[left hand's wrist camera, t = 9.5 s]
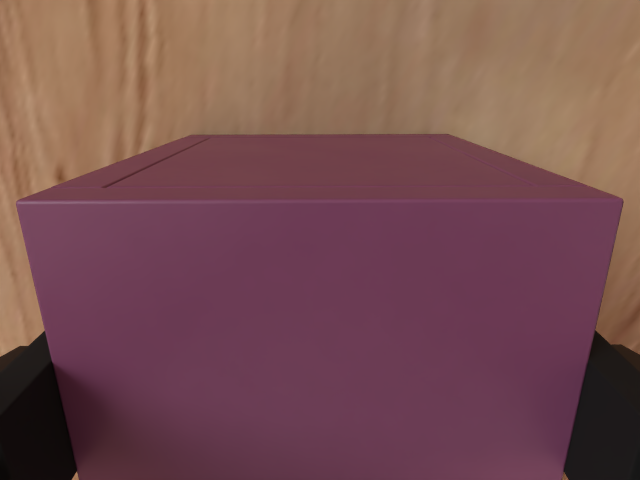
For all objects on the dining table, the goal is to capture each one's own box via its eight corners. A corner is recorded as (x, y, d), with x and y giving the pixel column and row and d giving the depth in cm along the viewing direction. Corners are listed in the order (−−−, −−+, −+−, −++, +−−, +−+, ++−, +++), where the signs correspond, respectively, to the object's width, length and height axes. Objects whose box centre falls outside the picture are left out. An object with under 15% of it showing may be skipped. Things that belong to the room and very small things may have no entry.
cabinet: (420, 462, 23) (501, 760, 13) (220, 462, 23) (142, 761, 13) (449, 133, 18) (626, 198, 8) (189, 135, 18) (12, 200, 8)
